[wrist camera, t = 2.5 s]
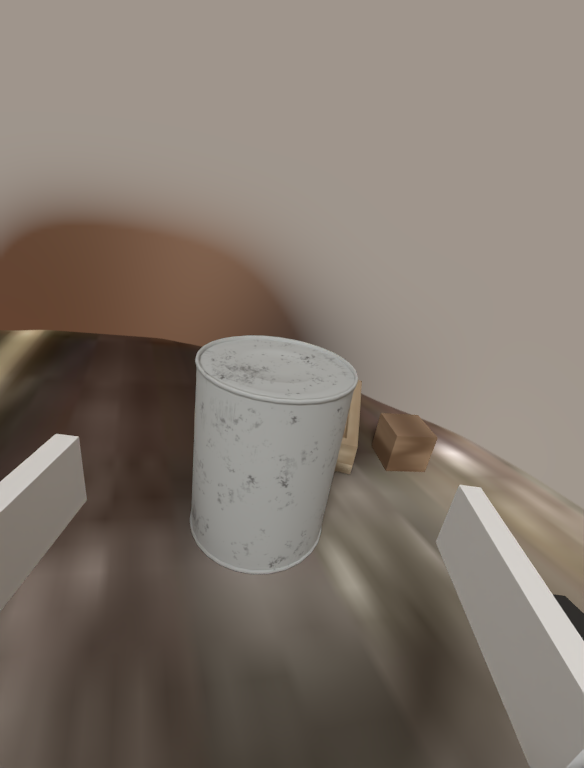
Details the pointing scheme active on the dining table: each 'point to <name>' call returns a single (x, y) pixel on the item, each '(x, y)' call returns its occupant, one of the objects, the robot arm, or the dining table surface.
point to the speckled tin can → (265, 448)
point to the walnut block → (403, 442)
